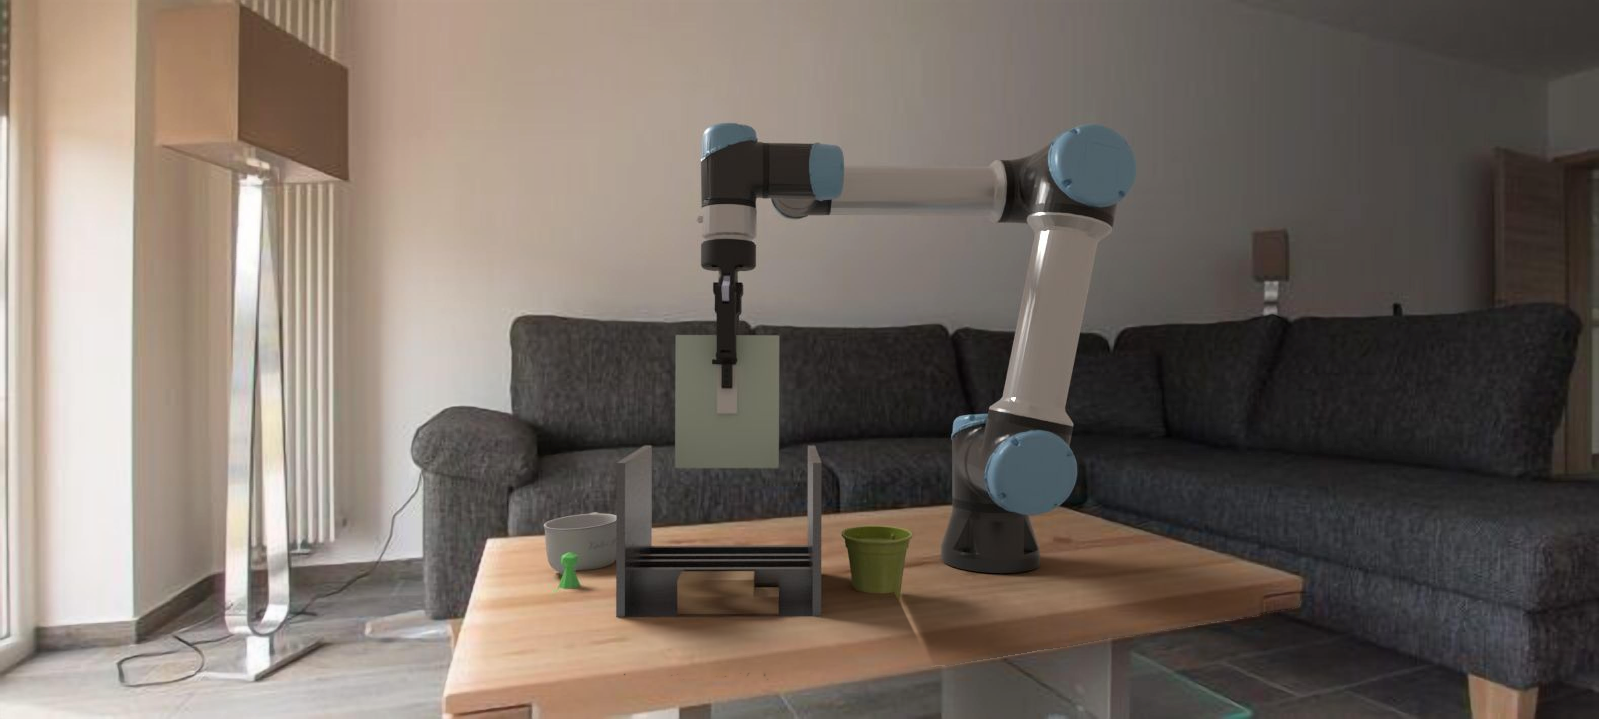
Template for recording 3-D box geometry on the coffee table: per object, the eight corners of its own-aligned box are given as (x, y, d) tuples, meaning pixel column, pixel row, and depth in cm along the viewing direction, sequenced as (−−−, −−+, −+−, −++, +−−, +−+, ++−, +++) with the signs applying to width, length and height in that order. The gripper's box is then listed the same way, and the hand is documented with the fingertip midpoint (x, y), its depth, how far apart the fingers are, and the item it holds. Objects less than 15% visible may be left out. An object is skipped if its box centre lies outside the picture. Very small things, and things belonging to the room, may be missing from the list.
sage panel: (778, 465, 113) (779, 335, 113) (778, 468, 110) (779, 335, 110) (677, 465, 113) (678, 335, 113) (675, 468, 110) (675, 334, 110)
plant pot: (903, 611, 102) (903, 542, 102) (832, 603, 106) (832, 537, 106) (919, 592, 111) (919, 528, 111) (852, 585, 114) (853, 523, 114)
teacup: (599, 584, 115) (599, 527, 115) (529, 580, 117) (529, 524, 117) (638, 560, 128) (638, 509, 128) (575, 557, 130) (575, 507, 130)
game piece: (547, 595, 109) (548, 550, 109) (579, 590, 112) (579, 546, 112) (558, 603, 106) (558, 557, 106) (590, 598, 108) (590, 553, 108)
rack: (814, 583, 115) (814, 445, 115) (821, 628, 96) (821, 462, 96) (644, 583, 115) (644, 445, 115) (616, 629, 95) (616, 463, 95)
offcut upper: (754, 587, 101) (754, 571, 101) (753, 596, 97) (753, 580, 97) (681, 587, 100) (681, 571, 100) (677, 597, 96) (677, 580, 96)
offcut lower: (778, 603, 101) (778, 587, 101) (778, 613, 97) (778, 596, 97) (681, 603, 100) (681, 587, 100) (677, 614, 96) (677, 597, 96)
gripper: (706, 248, 119) (705, 408, 119) (695, 231, 104) (694, 416, 104) (757, 248, 119) (757, 409, 119) (754, 231, 104) (753, 416, 104)
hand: (728, 412), depth 112 cm, fingers closed on sage panel, 2 cm apart
